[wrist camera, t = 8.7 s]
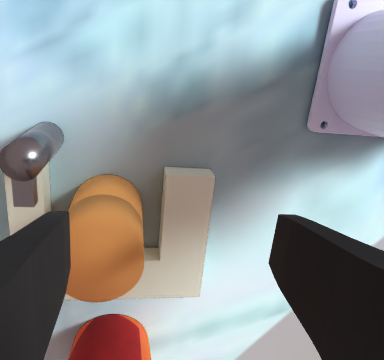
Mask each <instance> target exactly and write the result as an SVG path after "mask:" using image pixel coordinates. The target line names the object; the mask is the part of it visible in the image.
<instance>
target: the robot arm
mask: <svg viewBox="0 0 384 360" xmlns="http://www.w3.org/2000/svg"><path fill="white" fill-rule="evenodd" d="M349 1H350V0H334V3H333V8H332V12H331V17H330V21H329V26H328V31H327V35H326V40H325V44H324V49H323V54H322V58H321V63H320V67H319V72H318V76H317V81H316V86H315V90H314V95H313V99H312V104H311V109H310V113H309V118H308V122H307V127H308V129H309V130H310V131H313V132H319V133H333V134H348V135H362V136H376V137H384V0H351V1H352V2H353V6H352V8H351V9H350V8H349ZM323 121H324V122H325V125H324V127H322V128H321V127H320V125H321V123H322V122H323ZM269 265H270V268H271V270H272V273H273V275H274V278H275V280H276V282H277V284H278V286H279V288H280V290H281V292H282V293H283V295H284V297H285V298H286V300H287V302H288V303H289V305H290V306H291V308H292V310H293V311H294V313H295V314H296V316H297V318H298V319H299V321H300V322H301V324H302V326H303V327H304V329H305V331H306V332H307V334H308V335H309V337H310V339H311V340H312V342H313V344H314V346H315V347H316V349H317V351H318V353H319V355H320V357H321V359H322V360H384V251H382V250H379V249H377V248H375V247H372V246H370V245H367V244H365V243H362V242H360V241H357V240H355V239H353V238H350V237H348V236H346V235H343V234H341V233H339V232H337V231H334V230H332V229H330V228H328V227H325V226H323V225H321V224H319V223H316V222H314V221H311V220H309V219H306V218H304V217H301V216H297V215H285V214H278V219H277V224H276V229H275V234H274V239H273V244H272V249H271V254H270V259H269ZM70 268H71V254H70V217H69V212H58V211H49V212H47V213H45V214H43V215H42V216H40V217H39V218H37V219H36V220H34V221H33V222H31V223H29V224H28V225H26V226H25V227H23V228H22V229H20V230H19V231H17V232H15V233H14V234H12V235H11V236H9V237H7V238H5V239H4V240H2V241H0V360H43V359H44V356H45V353H46V350H47V347H48V344H49V341H50V338H51V335H52V333H53V330H54V327H55V324H56V321H57V318H58V315H59V312H60V309H61V306H62V303H63V300H64V297H65V294H66V289H67V284H68V279H69V274H70Z"/></svg>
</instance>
